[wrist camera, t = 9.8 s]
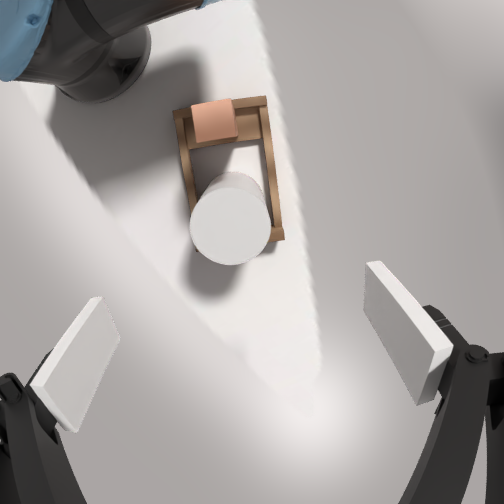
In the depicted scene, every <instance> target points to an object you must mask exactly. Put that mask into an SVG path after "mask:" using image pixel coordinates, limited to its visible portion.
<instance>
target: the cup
mask: <svg viewBox="0 0 504 504" xmlns="http://www.w3.org/2000/svg"><path fill="white" fill-rule="evenodd" d="M270 232H271V221H270V217H269V213H268V210H267V207H266V203H265V200H264V197H263V193H262V190H261V188H260V186H259V185H258V183H257V182H256V181H255V180H254V179H253V178H252V177H250V176H248V175H247V174H244V173H241V172H227V173H223V174H221V175H219V176H217V177H216V178H215V179H213V180H212V182H211V183H210V184H209V185H208V187H207V189H206V190H205V192H204V193H203V195H202V196H201V198H200V200H199V201H198V203H197V204H196V206H195V208H194V209H193V212H192V214H191V218H190V234H191V237H192V240H193V242H194V244H195V246H196V248H197V249H198V250H199V251H200V252H201V253H202V254H203V255H204V256H205V257H207V258H208V259H210V260H212V261H214V262H216V263H219V264H224V265H237V264H242V263H245V262H248V261H250V260H251V259H253V258H255V257H256V256H257V255H258V254H259V253H260V252H261V251H262V250H263V249H264V247H265V246H266V244H267V242H268V240H269V237H270Z"/></svg>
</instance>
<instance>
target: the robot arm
mask: <svg viewBox="0 0 504 504" xmlns="http://www.w3.org/2000/svg"><path fill="white" fill-rule="evenodd" d="M219 1H222V0H0V80H2V81H4V82H8V81H24V82H34V83H42V84H50V85H55V86H56V87H58V88H59V89H60V90H61V91H62V92H63V93H64V94H65V95H66V96H67V97H69V98H71V99H73V100H76V101H80V102H87V103H98V102H103V101H107V100H110V99H112V98H114V97H116V96H118V95H119V94H121V93H122V92H124V91H125V90H126V89H128V88H129V87H130V86H131V85H132V84H133V83H134V82H135V81H136V79H137V78H138V77H139V76H140V74H141V73H142V71H143V69H144V67H145V65H146V63H147V61H148V58H149V54H150V50H151V36H150V31H149V29H148V26H147V25H149V24H152V23H154V22H157V21H160V20H162V19H165V18H168V17H171V16H174V15H176V14H179V13H183V12H186V11H189V10H192V9H196V10H199V9H202V8H204V7H205V6H206V5H209V4H212V3H215V2H219ZM364 312H365V314H366V316H367V317H368V319H369V321H370V322H371V324H372V326H373V328H374V329H375V331H376V333H377V334H378V336H379V338H380V339H381V341H382V343H383V345H384V347H385V348H386V350H387V352H388V354H389V356H390V357H391V359H392V361H393V363H394V364H395V366H396V368H397V370H398V372H399V374H400V375H401V377H402V379H403V381H404V383H405V385H406V387H407V388H408V391H409V393H410V394H411V396H412V398H413V400H414V402H415V404H416V406H418V405H420V404H423V403H426V402H429V401H432V400H434V397H435V395H436V393H437V390H439V392H440V394H441V396H442V398H441V400H440V403H439V405H438V407H437V409H436V411H435V414H436V416H435V419H434V422H433V425H432V428H431V430H430V433H429V436H428V439H427V442H426V444H425V447H424V449H423V451H422V454H421V457H420V459H419V461H418V464H417V466H416V468H415V470H414V473H413V475H412V477H411V479H410V481H409V483H408V486H407V488H406V490H405V492H404V494H403V496H402V498H401V500H400V501H399V503H398V504H461V502H462V499H463V497H464V494H465V491H466V488H467V485H468V482H469V478H470V475H471V472H472V469H473V465H474V461H475V458H476V454H477V450H478V446H479V441H480V436H481V432H482V427H483V421H484V416H485V421H486V436H487V483H486V484H487V485H486V499H485V504H504V352H502V353H493V354H489V352H488V351H487V350H486V349H485V348H483V347H481V346H478V345H469V344H468V343H467V341H466V340H465V339H464V338H463V337H462V336H461V334H460V333H459V332H458V331H457V330H456V329H455V327H454V326H453V325H451V323H450V322H449V321H448V319H446V317H445V316H444V315H443V314H442V313H441V312H440V311H439V310H438V309H436V308H434V307H432V306H431V305H428V306H424V307H421V305H420V304H419V303H418V302H417V301H416V300H415V299H414V297H413V296H412V295H411V294H410V293H409V292H408V291H407V289H406V288H405V287H404V286H403V285H402V284H401V283H400V282H399V281H398V280H397V278H396V277H395V276H394V275H393V274H392V273H391V272H390V271H389V270H388V269H387V268H386V266H385V265H384V264H383V263H382V262H381V261H373V262H367V263H366V269H365V295H364ZM119 341H120V336H119V334H118V331H117V329H116V327H115V324H114V322H113V319H112V317H111V315H110V312H109V310H108V307H107V305H106V302H105V300H104V297H103V296H102V297H92V298H91V299H90V300H89V302H88V303H87V304H86V305H85V307H84V308H83V309H82V311H81V312H80V313H79V315H78V316H77V317H76V319H75V320H74V321H73V323H72V324H71V325H70V327H69V328H68V330H67V331H66V332H65V334H64V335H63V336H62V338H61V339H60V341H59V342H58V344H57V345H56V346H55V348H53V349H52V350H51V351H50V352H49V353H48V354H47V355H46V356H45V357H44V359H43V360H42V362H41V364H40V365H39V366H38V369H36V371H35V372H34V374H33V375H32V377H31V378H30V380H29V381H28V383H27V384H26V386H25V387H24V386H23V385H22V384H21V382H20V381H19V379H18V378H17V376H16V375H15V374H14V373H7V374H4V375H2V376H1V377H0V398H1V399H2V400H1V401H0V439H1V442H0V504H87V503H86V501H85V499H84V496H83V494H82V492H81V490H80V488H79V485H78V483H77V481H76V478H75V476H74V474H73V471H72V469H71V466H70V464H69V461H68V458H67V456H66V453H65V450H64V447H63V444H62V441H61V438H60V436H59V432H58V431H57V429H56V428H55V425H56V423H57V422H58V423H59V424H60V426H61V427H62V428H63V429H64V430H66V431H72V432H78V431H79V428H80V426H81V423H82V421H83V419H84V416H85V414H86V411H87V409H88V407H89V405H90V403H91V400H92V398H93V396H94V393H95V392H96V389H97V387H98V385H99V383H100V381H101V378H102V376H103V374H104V372H105V370H106V368H107V366H108V364H109V362H110V360H111V358H112V356H113V354H114V352H115V349H116V347H117V345H118V343H119Z"/></svg>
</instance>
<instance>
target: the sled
mask: <svg viewBox="0 0 504 504" xmlns="http://www.w3.org/2000/svg"><path fill="white" fill-rule="evenodd" d="M173 117H174V120H175V125H176V131H177V138H178V144H179V150H180V155H181V161H182V167H183V173H184V178H185V184H186V189H187V194H188V199H189V205H190V210H191V214H192V212H193V209H194V208H195V206H196V204H197V203H198V197H197V191H196V186H195V180H194V175H193V169H192V163H191V157H190V151H189V150H190V149H195V148H201V147H207V146H212V145H218V144H225V143H231V142H238V141H245V140H253V139H260V138H263V142H264V150H265V157H266V165H267V173H268V180H269V188H270V196H271V204H272V213H273V221H274V225H271V232H270V237H269V240H268V242H273V241H280V240H285V237H284V230H283V228H282V220H281V211H280V202H279V194H278V185H277V177H276V169H275V161H274V153H273V145H272V138H271V130H270V123H269V115H268V108H267V99H266V96H258V97H249V98H242V99H235V100H231V99H224V100H218V101H212V102H206V103H201V104H195V105H191V107H188V108H183V109H179V110H174V111H173ZM195 248H196V246H195ZM196 252H200V251H199V250H198V249H197V248H196Z"/></svg>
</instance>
